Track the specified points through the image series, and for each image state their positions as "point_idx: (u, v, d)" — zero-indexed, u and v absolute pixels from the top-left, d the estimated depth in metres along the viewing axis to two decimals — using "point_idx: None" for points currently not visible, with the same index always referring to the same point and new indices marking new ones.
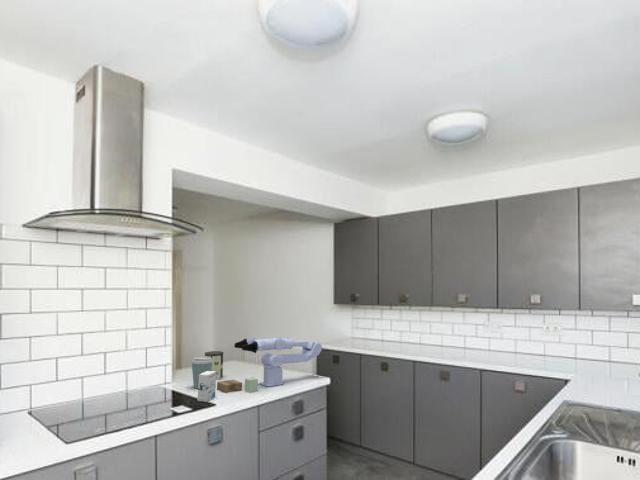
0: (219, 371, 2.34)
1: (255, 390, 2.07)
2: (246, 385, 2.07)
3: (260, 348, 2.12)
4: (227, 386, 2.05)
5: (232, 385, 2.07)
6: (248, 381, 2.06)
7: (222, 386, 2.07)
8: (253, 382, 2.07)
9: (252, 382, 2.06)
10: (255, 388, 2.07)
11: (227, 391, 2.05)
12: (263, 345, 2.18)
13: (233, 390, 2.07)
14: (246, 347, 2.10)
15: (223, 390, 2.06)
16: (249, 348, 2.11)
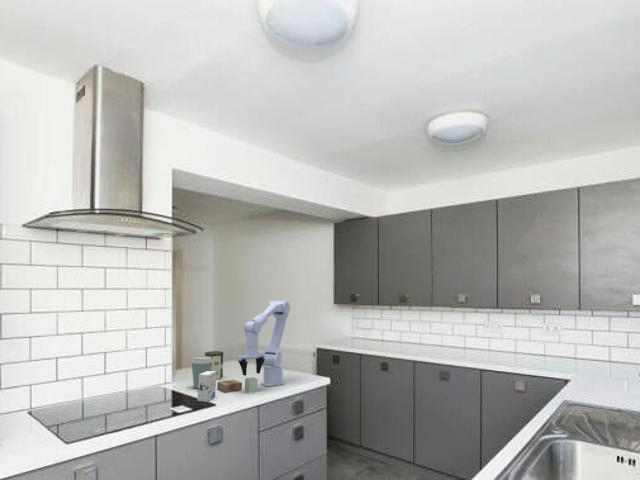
0: (219, 371, 2.34)
1: (255, 390, 2.07)
2: (246, 385, 2.07)
3: None
4: (227, 386, 2.05)
5: (232, 385, 2.07)
6: (248, 381, 2.06)
7: (222, 386, 2.07)
8: (253, 382, 2.07)
9: (252, 382, 2.06)
10: (255, 388, 2.07)
11: (227, 391, 2.05)
12: None
13: (233, 390, 2.07)
14: None
15: (223, 390, 2.06)
16: None
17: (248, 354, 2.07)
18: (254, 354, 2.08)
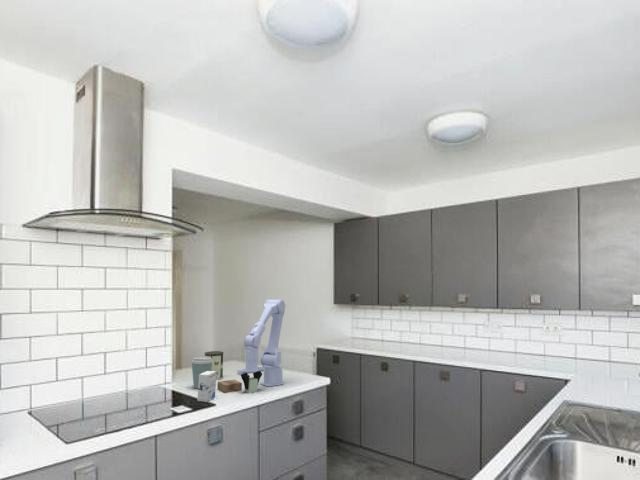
0: (219, 371, 2.34)
1: (255, 390, 2.07)
2: None
3: None
4: (226, 386, 2.05)
5: (231, 385, 2.07)
6: None
7: (222, 386, 2.07)
8: (253, 382, 2.07)
9: (252, 382, 2.06)
10: (255, 387, 2.07)
11: (226, 391, 2.05)
12: None
13: (232, 390, 2.07)
14: None
15: (222, 390, 2.06)
16: None
17: (248, 368, 2.07)
18: (254, 368, 2.07)
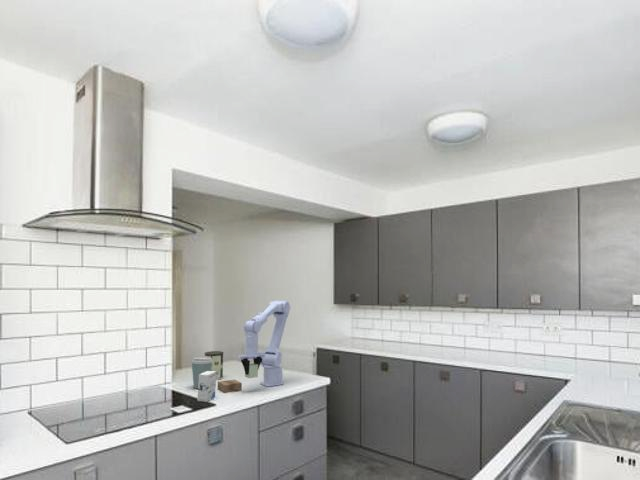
0: (219, 371, 2.34)
1: (255, 375, 2.08)
2: None
3: None
4: (226, 386, 2.05)
5: (231, 385, 2.07)
6: None
7: (222, 386, 2.07)
8: (253, 368, 2.07)
9: (252, 368, 2.07)
10: (255, 373, 2.08)
11: (226, 391, 2.05)
12: None
13: (232, 390, 2.07)
14: None
15: (222, 390, 2.06)
16: None
17: (248, 353, 2.08)
18: (254, 353, 2.08)
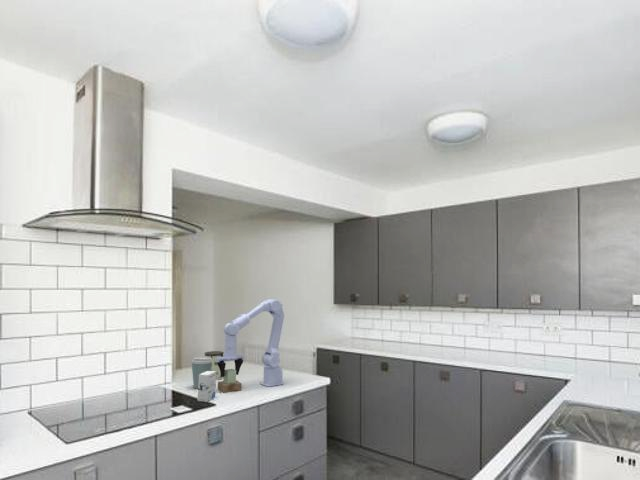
0: (219, 371, 2.34)
1: (233, 381, 2.10)
2: (225, 376, 2.10)
3: None
4: (225, 386, 2.05)
5: (231, 385, 2.07)
6: (226, 372, 2.09)
7: (221, 386, 2.07)
8: (231, 373, 2.10)
9: (231, 373, 2.10)
10: (234, 379, 2.10)
11: (225, 391, 2.05)
12: None
13: (232, 390, 2.07)
14: None
15: (222, 390, 2.06)
16: None
17: (226, 355, 2.10)
18: (232, 355, 2.10)
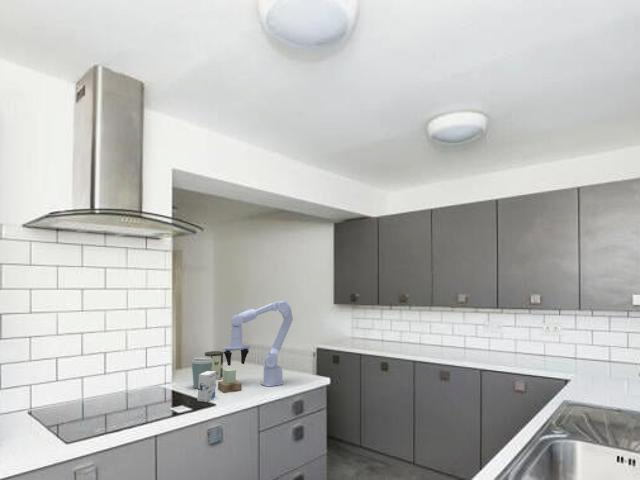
0: (219, 371, 2.34)
1: (233, 381, 2.10)
2: (224, 376, 2.10)
3: None
4: (226, 386, 2.05)
5: (231, 385, 2.07)
6: (226, 372, 2.09)
7: (221, 386, 2.07)
8: (231, 373, 2.10)
9: (230, 373, 2.10)
10: (233, 378, 2.10)
11: (225, 391, 2.05)
12: None
13: (232, 390, 2.07)
14: None
15: (222, 390, 2.06)
16: None
17: (232, 345, 2.20)
18: (238, 345, 2.20)
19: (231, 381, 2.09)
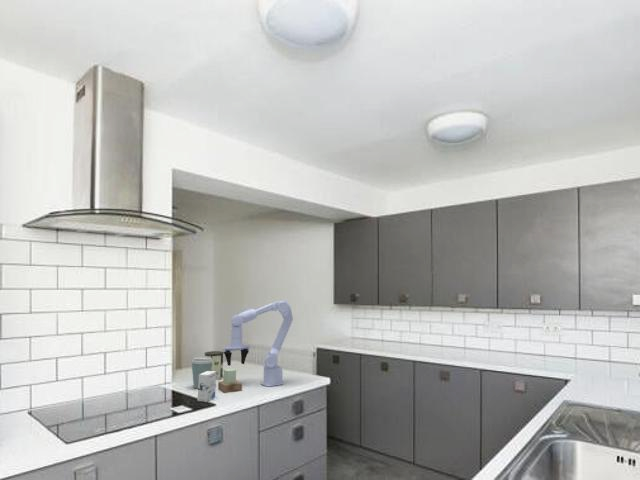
0: (219, 371, 2.34)
1: (233, 381, 2.10)
2: (225, 376, 2.10)
3: None
4: (226, 386, 2.05)
5: (231, 385, 2.07)
6: (227, 372, 2.09)
7: (222, 386, 2.07)
8: (232, 373, 2.10)
9: (231, 373, 2.09)
10: (234, 379, 2.10)
11: (226, 391, 2.05)
12: None
13: (232, 390, 2.07)
14: None
15: (222, 390, 2.06)
16: None
17: (232, 345, 2.20)
18: (238, 345, 2.20)
19: (231, 381, 2.09)
